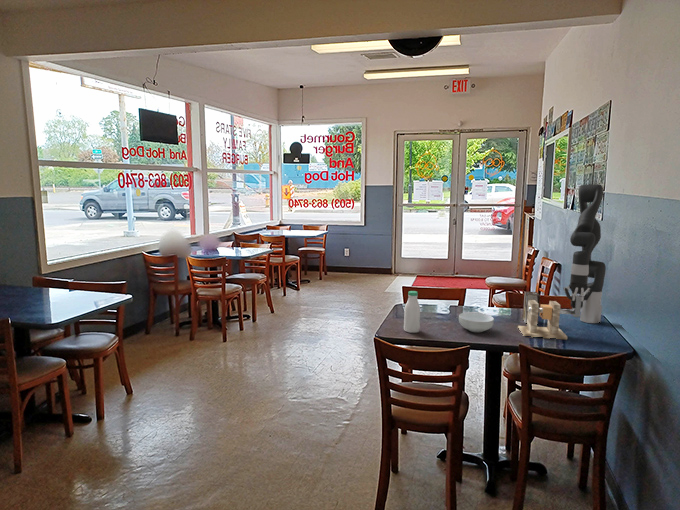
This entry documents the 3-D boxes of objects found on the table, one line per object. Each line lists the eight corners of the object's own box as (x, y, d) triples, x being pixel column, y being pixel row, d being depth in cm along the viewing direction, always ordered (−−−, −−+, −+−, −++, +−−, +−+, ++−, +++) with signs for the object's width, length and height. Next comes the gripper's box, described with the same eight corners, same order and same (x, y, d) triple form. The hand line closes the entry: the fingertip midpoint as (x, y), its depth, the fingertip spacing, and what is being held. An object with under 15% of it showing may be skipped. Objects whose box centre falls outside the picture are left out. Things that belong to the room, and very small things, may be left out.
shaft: (576, 314, 242) (578, 295, 240) (579, 317, 237) (581, 297, 236) (527, 312, 245) (529, 292, 243) (529, 314, 241) (531, 294, 239)
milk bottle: (421, 332, 241) (423, 293, 238) (406, 333, 240) (407, 293, 237) (416, 328, 249) (418, 289, 246) (401, 328, 248) (403, 290, 245)
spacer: (548, 316, 245) (548, 304, 244) (551, 319, 239) (552, 307, 238) (539, 315, 245) (540, 304, 244) (542, 319, 239) (543, 307, 238)
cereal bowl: (455, 332, 243) (456, 318, 242) (460, 323, 259) (461, 310, 258) (491, 337, 237) (492, 322, 236) (494, 327, 252) (495, 314, 251)
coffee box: (538, 325, 258) (540, 295, 256) (525, 324, 259) (527, 294, 257) (534, 320, 267) (537, 291, 264) (522, 319, 268) (524, 290, 266)
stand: (558, 330, 249) (561, 300, 246) (567, 339, 235) (570, 307, 233) (517, 328, 252) (520, 298, 249) (523, 336, 238) (526, 304, 235)
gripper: (592, 272, 239) (588, 306, 242) (562, 271, 241) (559, 305, 244) (597, 275, 232) (594, 310, 234) (566, 274, 234) (563, 309, 236)
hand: (576, 307), depth 239 cm, fingers closed on shaft, 2 cm apart
